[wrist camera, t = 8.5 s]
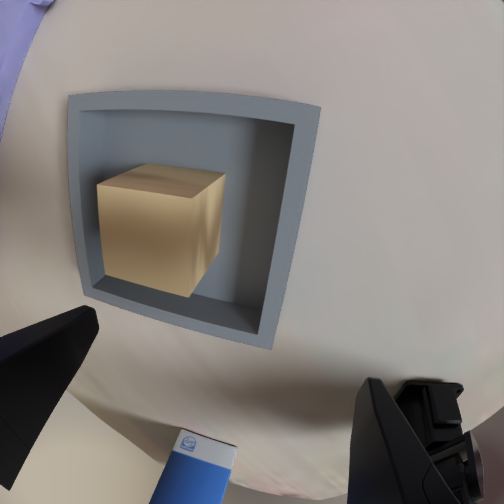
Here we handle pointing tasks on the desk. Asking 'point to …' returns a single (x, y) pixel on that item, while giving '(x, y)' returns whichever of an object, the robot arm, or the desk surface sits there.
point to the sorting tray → (234, 202)
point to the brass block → (161, 225)
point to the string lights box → (195, 471)
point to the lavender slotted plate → (16, 43)
